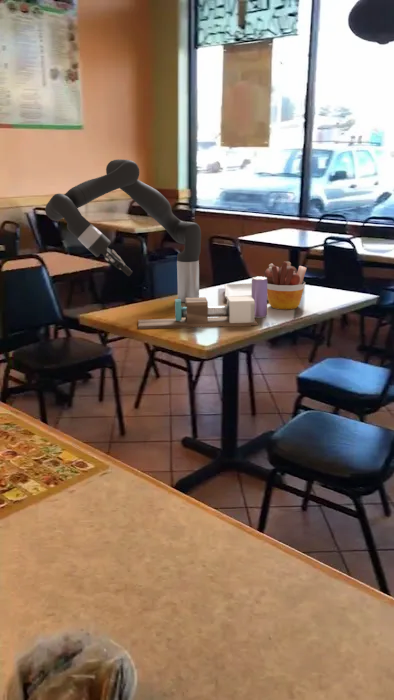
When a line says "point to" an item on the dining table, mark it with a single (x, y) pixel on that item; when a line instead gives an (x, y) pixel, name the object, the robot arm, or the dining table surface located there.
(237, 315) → the socket
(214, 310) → the slip tube
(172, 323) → the rail board
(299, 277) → the bucket of meat
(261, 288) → the beverage can
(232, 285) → the square plate
